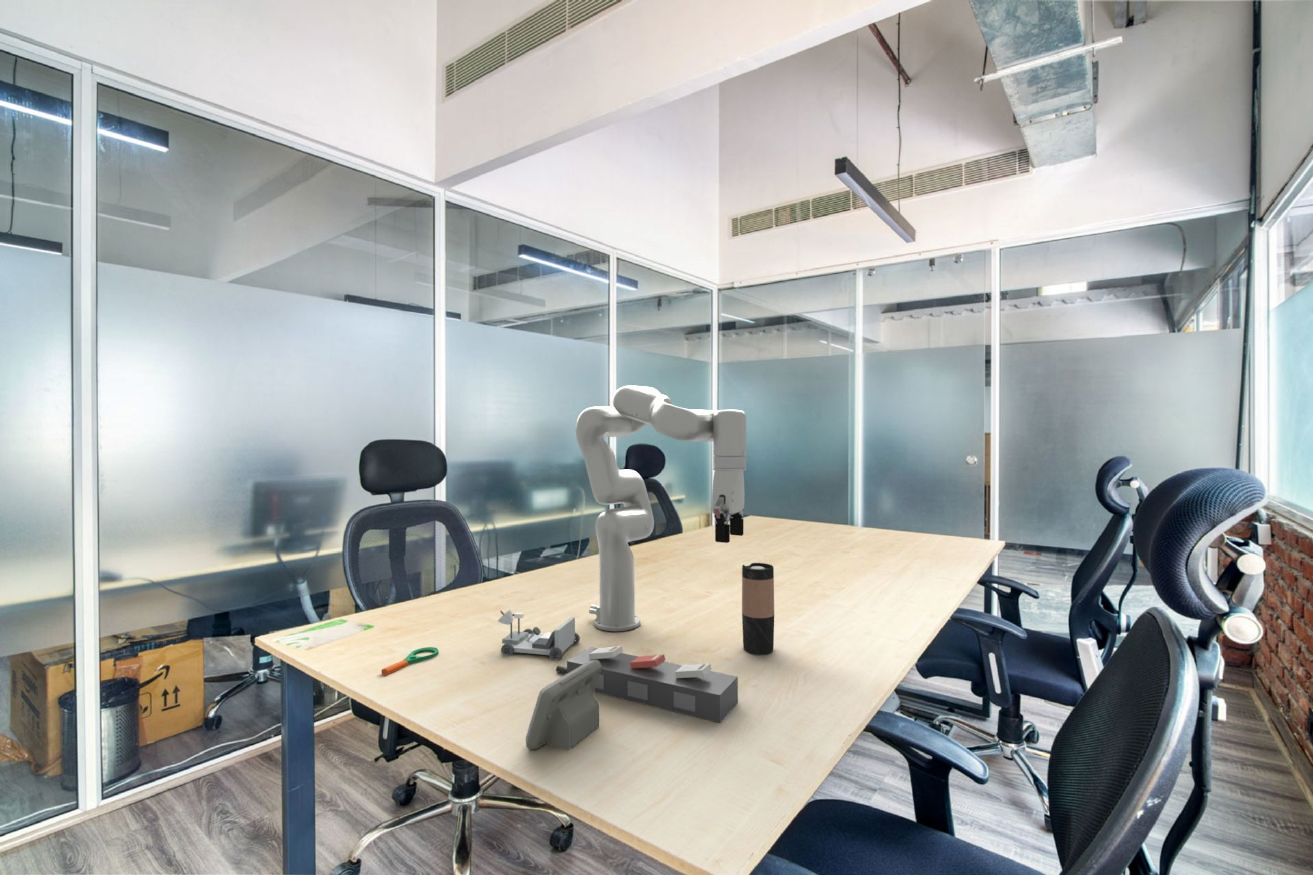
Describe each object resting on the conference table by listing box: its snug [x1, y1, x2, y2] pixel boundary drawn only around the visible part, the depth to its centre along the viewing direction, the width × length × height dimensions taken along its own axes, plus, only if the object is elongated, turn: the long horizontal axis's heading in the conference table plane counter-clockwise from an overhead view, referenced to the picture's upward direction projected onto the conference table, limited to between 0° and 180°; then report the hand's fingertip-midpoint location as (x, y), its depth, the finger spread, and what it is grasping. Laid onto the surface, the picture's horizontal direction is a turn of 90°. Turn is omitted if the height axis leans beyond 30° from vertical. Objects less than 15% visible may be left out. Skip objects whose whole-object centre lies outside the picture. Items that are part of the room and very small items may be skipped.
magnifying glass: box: [380, 646, 440, 676], centre depth 133 cm, size 15×6×2 cm, turn 159°
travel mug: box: [741, 562, 775, 656], centre depth 139 cm, size 8×8×20 cm
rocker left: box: [589, 645, 624, 660], centre depth 121 cm, size 6×4×1 cm, turn 61°
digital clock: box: [525, 660, 601, 751], centre depth 101 cm, size 16×9×11 cm, turn 140°
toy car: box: [497, 609, 581, 661], centre depth 141 cm, size 18×10×12 cm
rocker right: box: [675, 663, 712, 678], centre depth 111 cm, size 6×4×1 cm, turn 61°
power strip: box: [555, 646, 739, 724], centre depth 117 cm, size 40×9×5 cm, turn 61°
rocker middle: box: [630, 653, 666, 669], centre depth 116 cm, size 6×4×1 cm, turn 62°
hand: (729, 538), depth 133 cm, fingers open, 9 cm apart
